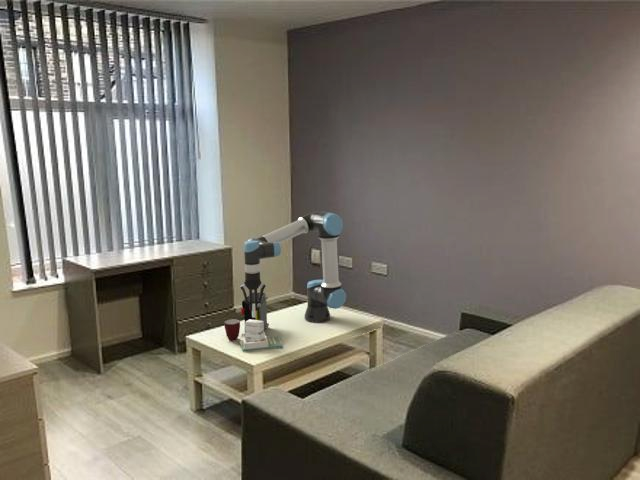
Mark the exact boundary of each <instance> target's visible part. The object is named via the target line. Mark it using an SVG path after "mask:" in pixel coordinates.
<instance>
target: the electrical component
mask: <svg viewBox="0 0 640 480" xmlns="http://www.w3.org/2000/svg"><path fill="white" fill-rule="evenodd" d="M259 294H260V292H257V301H258V298H259ZM247 299H248V301H249V295H247ZM267 300H269V296H268V295H267V294H266V293H265V292H263V295H262V300H261V303H259V304H258V305H257V311H255V315H256V317H255V318H253V317H252V311H250V305H249V304H246V301H245V298H243V300H242V301H241V307H242V308H240V311H241V314H242V316H244V323H245V322H246V321H247V320H249V319H251V320H259V321H264V331H265V330H266V329H267V328H269V326H270V324H269V322H268V315H267V313H268V312H267V310H268V309H267ZM252 304H255V302H254V291H252Z"/></svg>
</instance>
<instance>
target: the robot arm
mask: <svg viewBox="0 0 640 480" xmlns="http://www.w3.org/2000/svg"><path fill="white" fill-rule="evenodd" d="M343 229H344V223H343V219H342V218H341V216H339V215H338V213H337V214H336V213H333V212H328V211H322V210H316V211H312V212H310V213H307V214H305V215H302V216H300V217H298V218H297V220H295V221H293V222H291V223H289V224H286V225H285V226H281V227H280V228H277V229H276V230H273V231H270V232H269V233H266V234H264V235H262V236H259V237H257V238H254V237H253V238H249V239H248V240H247V241H244V244H243V246H244V247H243V252H244V253H243V254H244V283H243V284H241V285H240V286H239V288H240V290H241V291H242V294H243V298H244V299H245V301H246V304H249V305H250V311H252V317H253V318H255V317H256V315H255V311H257V305H258V304H259V303H261V300H262V295H263V293H264V290H265V288H266V286H267V285H266V284H265V283H262V281H261V272H260V271H261V264H260V262H261V261H260V260H262V259H269V258H277V257H279V256H280V255H281V252H282V247H281V244H282V243H283V242H286V241H288V240H291V239H293V238H295V237H296V236H299V235H301V234H307V233H310V232H317V238H318V239H319V240H320V242H321V243H320V244H321V259H322V264H321V265H322V277H323V278H322V279H314V280H310V281H308V282H307V285H306V289H307V290H306V292H307V293H306V294H307V305H306V306H307V307H306V310H305V313H304V320H305V321H307V322H310V323H314V324H315V323H317V324H318V323H326V322H328V321H329V320H331V313H330V309H334V310H336V309H340V308H341V307H342V306H343V305H344V304H345V302H346V300H347V294H346V293H347V292H345V290H344V289H343V288H342V286H343V285H342V282H340V280H339V264H338V263H339V261H338V260H339V259H338V239H339V238H340V234H341V232H342V230H343ZM259 287H260V289H259ZM246 288H247V289H248V295H247V292H246ZM258 289H259V293H260V294H259V298H258V301H257V293H258ZM252 292H254V302H255V304H252ZM248 296H249V301H248V299H247V297H248Z"/></svg>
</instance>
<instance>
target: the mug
mask: <svg viewBox="0 0 640 480" xmlns="http://www.w3.org/2000/svg"><path fill="white" fill-rule="evenodd" d="M224 330H225V334H226V338H227V339H228V340H229V341H230V342H235V341H237V340H238V339H239V335H240V330H241V320H239V319H236V318H232V319H227V320H225V321H224Z"/></svg>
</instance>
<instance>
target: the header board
mask: <svg viewBox="0 0 640 480" xmlns="http://www.w3.org/2000/svg"><path fill="white" fill-rule="evenodd" d="M239 344H240V346H241V352H243V353H245V352H254V351H262V350H274V349H282V348H283V345H282V342H281V340H280V338H279V336H278V335H275V336H274V335H273V336H267V335H266V332H265V331H264V341H259V342H249V343H246V335H245V333H241V337H240V339H239Z"/></svg>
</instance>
